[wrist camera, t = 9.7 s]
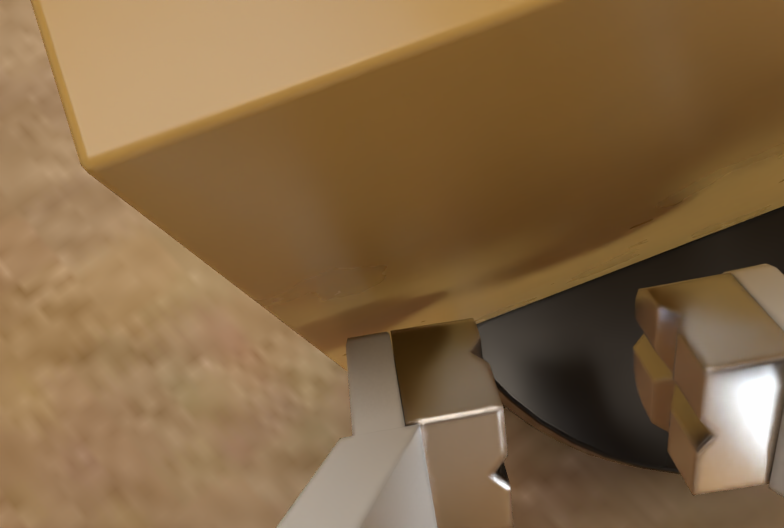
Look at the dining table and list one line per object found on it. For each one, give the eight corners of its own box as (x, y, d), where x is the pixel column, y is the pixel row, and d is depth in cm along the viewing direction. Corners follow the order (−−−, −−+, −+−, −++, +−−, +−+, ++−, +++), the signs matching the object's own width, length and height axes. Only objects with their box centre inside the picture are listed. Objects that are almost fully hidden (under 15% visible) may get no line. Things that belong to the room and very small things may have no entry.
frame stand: (470, 513, 15) (476, 524, 13) (378, 50, 17) (375, 14, 15) (970, 418, 15) (1032, 417, 13) (817, -30, 17) (856, -74, 15)
